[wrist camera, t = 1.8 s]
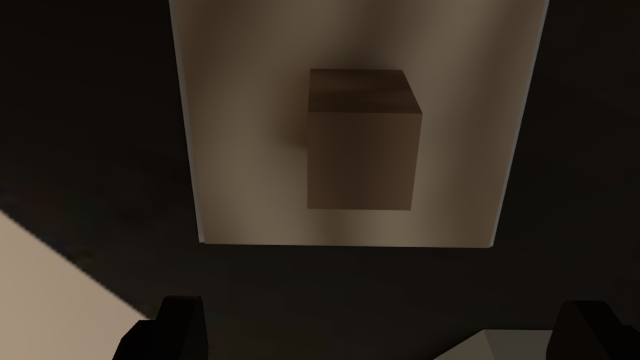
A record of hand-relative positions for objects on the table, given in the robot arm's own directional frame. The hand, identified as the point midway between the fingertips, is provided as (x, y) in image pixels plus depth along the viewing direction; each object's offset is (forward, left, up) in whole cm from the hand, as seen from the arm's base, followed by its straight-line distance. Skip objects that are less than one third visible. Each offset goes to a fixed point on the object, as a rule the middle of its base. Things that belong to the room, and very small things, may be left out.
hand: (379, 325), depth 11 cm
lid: (0, 0, -14) cm, 14 cm away
